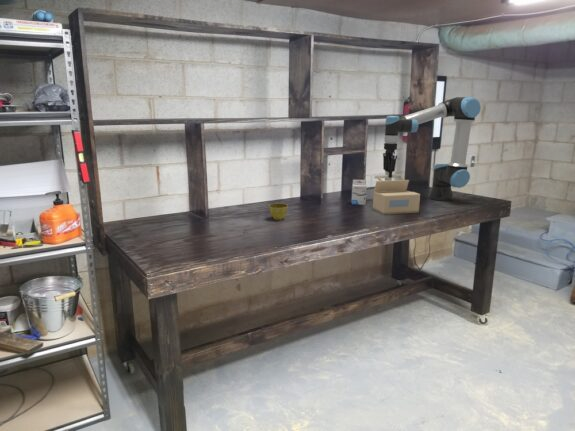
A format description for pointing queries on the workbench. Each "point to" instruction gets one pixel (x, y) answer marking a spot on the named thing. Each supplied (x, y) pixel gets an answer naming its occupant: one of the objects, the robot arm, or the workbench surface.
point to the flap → (391, 183)
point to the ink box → (359, 192)
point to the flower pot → (278, 211)
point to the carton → (396, 202)
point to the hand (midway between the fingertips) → (387, 182)
